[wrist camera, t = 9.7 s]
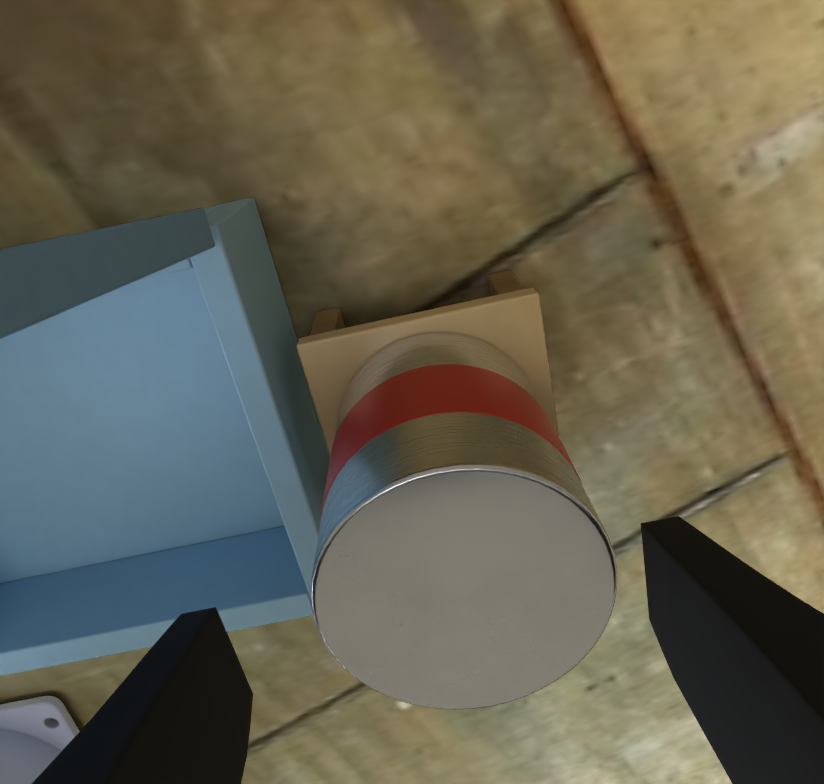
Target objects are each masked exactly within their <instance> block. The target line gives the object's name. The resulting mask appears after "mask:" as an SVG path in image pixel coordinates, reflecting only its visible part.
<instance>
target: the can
mask: <svg viewBox="0 0 824 784" xmlns="http://www.w3.org/2000/svg"><path fill="white" fill-rule="evenodd" d="M616 589H617V565H616V560H615V555H614V551H613V548H612V545H611V543H610V540H609V538H608V535H607V533H606V531H605V529H604V527H603V525H602V523H601V521H600V519H599V517H598V515H597V513H596V511H595V509H594V507H593V505H592V503H591V502H590V500H589V498H588V496H587V494H586V492H585V490H584V488H583V486H582V483H581V480H580V478H579V475H578V473H577V471H576V469H575V468H574V466H573V464H572V462H571V460H570V458H569V456H568V454H567V452H566V450H565V448H564V446H563V444H562V442H561V440H560V438H559V436H558V434H557V432H556V430H555V428H554V426H553V424H552V422H551V421H550V419H549V417H548V415H547V414H546V412H545V410H544V408H543V406H542V404H541V403H540V401H539V399H538V397H537V395H536V393H535V391H534V389H533V387H532V385H531V383H530V381H529V379H528V378H527V376H526V374H525V373H524V372H523V370H522V369H521V368H520V367H519V365H518V364H517V363H516V362H515V361H514V360H513V359H512V358H511V357H509V356H508V355H507V354H506V353H504V352H503V351H501V350H500V349H499V348H497V347H495V346H493V345H491V344H490V343H488V342H486V341H483V340H480V339H478V338H475V337H472V336H467V335H463V334H457V333H447V332H441V333H427V334H420V335H416V336H412V337H408V338H405V339H402V340H400V341H398V342H395V343H393V344H391V345H389V346H387V347H386V348H384V349H382V350H380V351H379V352H378V353H376V354H375V355H374V356H372V357H371V358H370V359H369V360H368V361H367V362H366V363H365V364H364V365H363V366H362V367H361V368H360V369H359V370H358V371H357V372H356V374H355V375H354V376H353V378H352V379H351V381H350V383H349V384H348V386H347V388H346V390H345V392H344V395H343V397H342V400H341V403H340V408H339V412H338V417H337V424H336V430H335V436H334V442H333V447H332V451H331V455H330V461H329V467H328V474H327V480H326V486H325V492H324V498H323V504H322V510H321V520H320V529H319V535H318V542H317V548H316V554H315V560H314V566H313V573H312V580H311V603H312V611H313V615H314V619H315V622H316V626H317V628H318V630H319V632H320V635H321V637H322V639H323V641H324V643H325V644H326V646H327V648H328V649H329V651H330V652H331V654H332V655H333V656H334V658H335V659H336V660H337V661H338V662H339V663H340V664H341V666H342V667H343V668H344V669H346V670H347V671H348V672H349V673H350V674H351V675H352V676H354V677H355V678H356V679H357V680H359V681H360V682H362V683H363V684H365V685H366V686H368V687H369V688H371V689H373V690H375V691H377V692H379V693H381V694H383V695H385V696H388V697H391V698H393V699H396V700H399V701H401V702H405V703H409V704H413V705H417V706H423V707H429V708H435V709H453V710H455V709H474V708H482V707H489V706H494V705H498V704H503V703H507V702H510V701H513V700H516V699H519V698H522V697H525V696H527V695H529V694H532V693H534V692H536V691H538V690H541V689H542V688H544V687H546V686H548V685H549V684H551V683H553V682H555V681H556V680H558V679H559V678H560V677H562V676H563V675H565V674H566V673H567V672H569V671H570V670H571V669H572V668H573V667H575V666H576V665H577V664H578V663H579V662H580V661H581V660H582V659H583V658H584V657H585V656H586V655H587V654H588V652H589V651H590V650H591V649H592V648H593V646H594V645H595V644H596V642H597V641H598V639H599V638H600V636H601V634H602V633H603V631H604V629H605V627H606V625H607V623H608V621H609V618H610V616H611V613H612V609H613V606H614V603H615V596H616Z"/></svg>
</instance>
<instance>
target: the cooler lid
mask: <svg viewBox="0 0 824 784" xmlns="http://www.w3.org/2000/svg"><path fill="white" fill-rule="evenodd" d="M213 247H215V243H214V239H213V236H212V233H211V230H210V226H209V223H208V220H207V217H206V214H205V210H204V209H203V208H198V209H193V210H188V211H183V212H179V213H174V214H169V215H164V216H159V217H154V218H149V219H144V220H140V221H135V222H130V223H125V224H120V225H115V226H110V227H106V228H101V229H96V230H91V231H86V232H81V233H76V234H71V235H67V236H62V237H57V238H52V239H47V240H42V241H37V242H33V243H28V244H23V245H18V246H13V247H8V248H3V249H0V339H2V338H4V337H7V336H9V335H11V334H14V333H16V332H18V331H21V330H23V329H25V328H28V327H30V326H32V325H35V324H37V323H39V322H42V321H44V320H46V319H48V318H51V317H53V316H55V315H58V314H60V313H62V312H65V311H67V310H69V309H72V308H74V307H76V306H79V305H81V304H83V303H86V302H88V301H90V300H93V299H95V298H97V297H100V296H102V295H104V294H107V293H109V292H111V291H114V290H116V289H118V288H121V287H123V286H125V285H128V284H130V283H132V282H135V281H137V280H139V279H142V278H144V277H146V276H149V275H151V274H153V273H156V272H158V271H160V270H163V269H165V268H167V267H170V266H172V265H174V264H176V263H179V262H181V261H183V260H186V259H188V258H190V257H193V256H195V255H197V254H200V253H202V252H204V251H207V250H209V249H211V248H213Z"/></svg>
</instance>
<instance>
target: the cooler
mask: <svg viewBox="0 0 824 784" xmlns="http://www.w3.org/2000/svg"><path fill="white" fill-rule="evenodd" d="M203 209H204V210H205V214H206V217H207V220H208V223H209V226H210V230H211V233H212V236H213V239H214V243H215V247H213V248H211V249H209V250H207V251H204V252H202V253H200V254H197V255H195V256H193V257H190V258H188V259H186V260H183V261H181V262H179V263H176V264H174V265H172V266H170V267H167V268H165V269H163V270H160V271H158V272H156V273H153V274H151V275H149V276H146V277H144V278H142V279H139V280H137V281H135V282H132V283H130V284H128V285H125V286H123V287H121V288H118V289H116V290H114V291H111V292H109V293H107V294H104V295H102V296H100V297H97V298H95V299H93V300H90V301H88V302H86V303H83V304H81V305H79V306H76V307H74V308H72V309H69V310H67V311H65V312H62V313H60V314H58V315H55V316H53V317H51V318H48V319H46V320H44V321H42V322H39V323H37V324H35V325H32V326H30V327H28V328H25V329H23V330H21V331H18V332H16V333H14V334H11V335H9V336H7V337H4V338H2V339H0V676H3V675H8V674H13V673H18V672H24V671H29V670H34V669H39V668H44V667H49V666H55V665H60V664H65V663H70V662H75V661H81V660H86V659H91V658H96V657H101V656H106V655H112V654H117V653H122V652H127V651H132V650H137V649H143V648H148V647H153V645H154V644H155V643H156V642H157V641H158V640H159V638H160V637H161V636H162V635H163V634H164V633H165V631H166V630H167V629H168V628H169V627H170V626H171V625H172V623H173V622H174V621H175V620H176V619H177V618H178V617H179V616H180V615H181V614H182V613H188V612H193V611H198V610H203V609H208V608H213V607H216V608H217V611H218V613H219V615H220V618H221V620H222V622H223V625H224V627H225V629H226V632H230V631H236V630H241V629H246V628H251V627H256V626H261V625H267V624H272V623H277V622H282V621H287V620H292V619H298V618H303V617H308V616H313V611H312V603H311V580H312V573H313V566H314V560H315V554H316V548H317V542H318V535H319V529H320V520H321V510H322V504H323V498H324V492H325V486H326V480H327V474H328V467H329V461H330V456H329V452H328V449H327V446H326V443H325V439H324V436H323V433H322V430H321V426H320V423H319V420H318V416H317V413H316V410H315V407H314V403H313V400H312V397H311V393H310V390H309V387H308V384H307V380H306V377H305V374H304V371H303V367H302V364H301V361H300V357H299V354H298V351H297V348H296V346H297V343H298V341H297V338H296V335H295V331H294V328H293V325H292V321H291V318H290V315H289V312H288V308H287V305H286V302H285V298H284V295H283V292H282V289H281V285H280V282H279V279H278V275H277V272H276V269H275V265H274V262H273V259H272V256H271V252H270V249H269V246H268V242H267V239H266V236H265V232H264V229H263V226H262V223H261V219H260V216H259V213H258V209H257V206H256V203H255V199H254V198H252V197H250V198H246V199H241V200H237V201H233V202H228V203H224V204H220V205H215V206H211V207H207V208H203Z"/></svg>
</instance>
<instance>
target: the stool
mask: <svg viewBox="0 0 824 784" xmlns="http://www.w3.org/2000/svg"><path fill="white" fill-rule="evenodd" d="M488 282H489V288H490V294H491V296H490V297H485V298H481V299H476V300H471V301H467V302H462V303H458V304H453V305H448V306H444V307H439V308H435V309H430V310H425V311H421V312H416V313H412V314H407V315H403V316H398V317H393V318H389V319H384V320H380V321H375V322H370V323H366V324H361V325H357V326H352V327H347V328H345V326H344V322H343V319H342V315H341V311H340V309H339V308H333V309H329V310H324V311H320V312H317V313H316V316H315V319H314V322H313V325H312V328H311V331H310V334H309V336H306V337H302V338H300V339H299V340H298V343H297V346H296V348H297V351H298V354H299V357H300V361H301V364H302V367H303V371H304V374H305V377H306V380H307V384H308V387H309V390H310V393H311V397H312V400H313V403H314V407H315V410H316V413H317V416H318V420H319V423H320V426H321V430H322V433H323V436H324V439H325V443H326V446H327V449H328V452H329V456H330V455H331V451H332V447H333V442H334V436H335V430H336V424H337V417H338V412H339V408H340V403H341V400H342V397H343V395H344V392H345V390H346V388H347V386H348V384H349V383H350V381H351V379H352V378H353V376H354V375H355V374H356V372H357V371H358V370H359V369H360V368H361V367H362V366H363V365H364V364H365V363H366V362H367V361H368V360H369V359H370V358H371V357H372V356H374V355H375V354H376V353H378V352H379V351H380V350H382V349H384V348H386V347H387V346H389V345H391V344H393V343H395V342H398V341H400V340H402V339H405V338H408V337H412V336H416V335H420V334H427V333H441V332H447V333H457V334H463V335H467V336H472V337H475V338H478V339H480V340H483V341H486V342H488V343H490V344H491V345H493V346H495V347H497V348H499V349H500V350H501V351H503V352H504V353H506V354H507V355H508V356H509V357H511V358H512V359H513V360H514V361H515V362H516V363H517V364H518V365H519V367H520V368H521V369H522V370H523V372H524V373H525V374H526V376H527V378H528V379H529V381H530V383H531V385H532V387H533V389H534V391H535V393H536V395H537V397H538V399H539V401H540V403H541V404H542V406H543V408H544V410H545V412H546V414H547V415H548V417H549V419H550V421H551V422H552V424H553V426H554V428H555V430H556V432H557V434H558V436H559V433H558V426H557V419H556V412H555V405H554V398H553V390H552V383H551V376H550V369H549V362H548V355H547V348H546V341H545V334H544V327H543V320H542V313H541V306H540V299H539V294H538V292H537V291H536V290H535V289H534V288H532V287H531V288H526V289H524V288H523V287H522V285H521V284H520V282H519V281H518V280H517V278H516V277H515V276H514V274H513V273H512V271H511V270H507V271H502V272H498V273H493V274H490V275H488Z"/></svg>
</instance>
